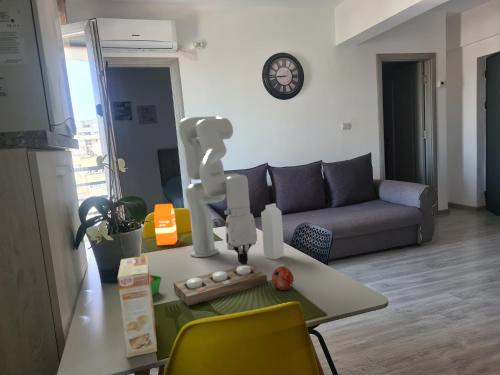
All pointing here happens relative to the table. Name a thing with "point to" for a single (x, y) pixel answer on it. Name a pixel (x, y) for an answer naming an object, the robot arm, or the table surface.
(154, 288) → the fruit basket
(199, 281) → the button end
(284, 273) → the pomegranate
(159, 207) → the orange juice
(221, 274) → the button middle
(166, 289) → the table surface
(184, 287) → the button board
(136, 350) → the coffeecake box
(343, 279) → the table surface
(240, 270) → the button end
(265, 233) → the milk
